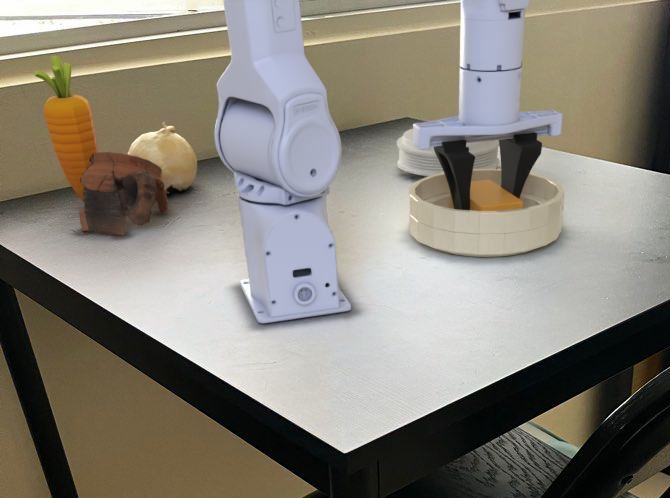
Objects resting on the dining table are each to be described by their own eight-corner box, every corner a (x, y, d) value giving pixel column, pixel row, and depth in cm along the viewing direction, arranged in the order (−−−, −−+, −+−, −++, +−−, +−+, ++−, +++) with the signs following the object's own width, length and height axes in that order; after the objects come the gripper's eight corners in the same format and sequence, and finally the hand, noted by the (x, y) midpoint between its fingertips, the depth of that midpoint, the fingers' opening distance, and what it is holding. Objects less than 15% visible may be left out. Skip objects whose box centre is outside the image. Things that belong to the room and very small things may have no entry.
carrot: (99, 213, 97) (64, 61, 88) (59, 211, 98) (20, 61, 89) (119, 200, 101) (88, 53, 92) (80, 198, 102) (46, 53, 93)
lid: (468, 190, 101) (470, 144, 98) (377, 177, 107) (376, 133, 104) (516, 165, 110) (518, 122, 107) (429, 153, 115) (429, 112, 112)
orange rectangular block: (521, 239, 86) (523, 201, 84) (480, 244, 85) (481, 206, 82) (488, 214, 92) (489, 179, 90) (449, 219, 91) (449, 183, 89)
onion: (192, 199, 101) (182, 133, 96) (124, 200, 101) (111, 134, 96) (206, 180, 107) (197, 117, 103) (142, 181, 107) (130, 118, 103)
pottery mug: (59, 232, 93) (65, 152, 92) (140, 252, 100) (146, 178, 99) (113, 225, 85) (120, 137, 84) (197, 247, 92) (204, 166, 91)
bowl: (586, 249, 85) (591, 201, 82) (440, 269, 81) (440, 220, 78) (521, 205, 96) (524, 162, 94) (391, 221, 93) (390, 177, 90)
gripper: (543, 54, 84) (534, 199, 92) (401, 65, 81) (404, 214, 89) (577, 65, 79) (563, 218, 87) (426, 78, 75) (427, 235, 84)
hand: (485, 217), depth 88 cm, fingers closed on orange rectangular block, 4 cm apart
